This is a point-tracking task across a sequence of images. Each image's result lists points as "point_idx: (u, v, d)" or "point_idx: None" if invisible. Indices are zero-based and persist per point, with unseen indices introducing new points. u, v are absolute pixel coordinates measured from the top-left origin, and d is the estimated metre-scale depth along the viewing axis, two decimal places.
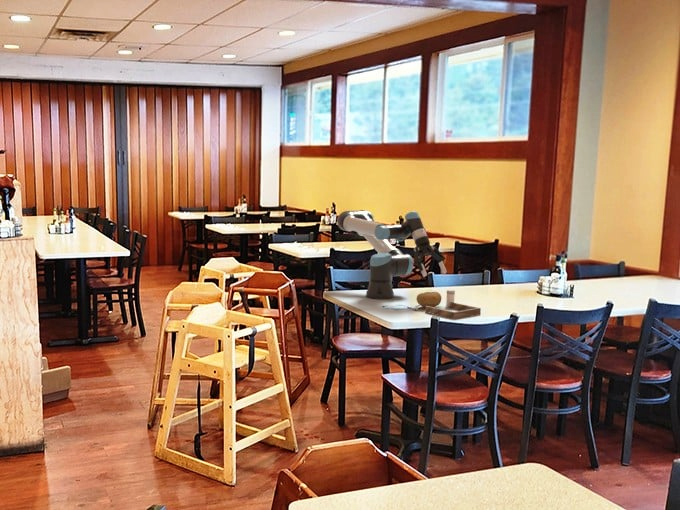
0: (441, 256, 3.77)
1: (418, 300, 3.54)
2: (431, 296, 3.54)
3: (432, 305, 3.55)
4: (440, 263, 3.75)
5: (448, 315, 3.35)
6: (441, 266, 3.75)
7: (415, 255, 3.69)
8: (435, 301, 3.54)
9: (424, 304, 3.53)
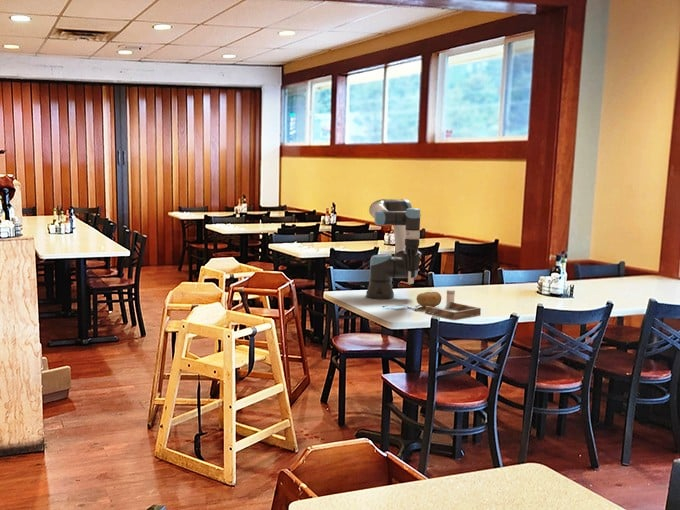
0: (414, 265, 3.62)
1: (418, 300, 3.54)
2: (431, 296, 3.54)
3: (432, 305, 3.55)
4: None
5: (448, 315, 3.35)
6: None
7: None
8: (435, 301, 3.54)
9: (424, 304, 3.53)
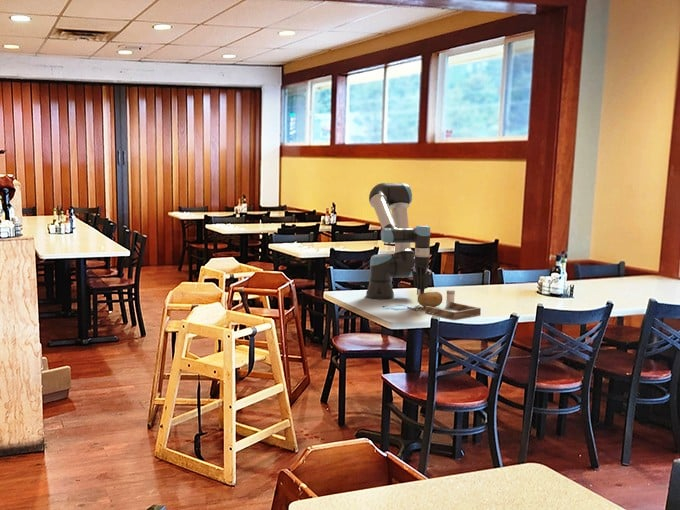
0: (423, 283, 3.58)
1: (419, 300, 3.53)
2: (432, 296, 3.54)
3: (433, 305, 3.54)
4: None
5: (448, 315, 3.35)
6: None
7: None
8: (436, 301, 3.53)
9: (425, 304, 3.53)
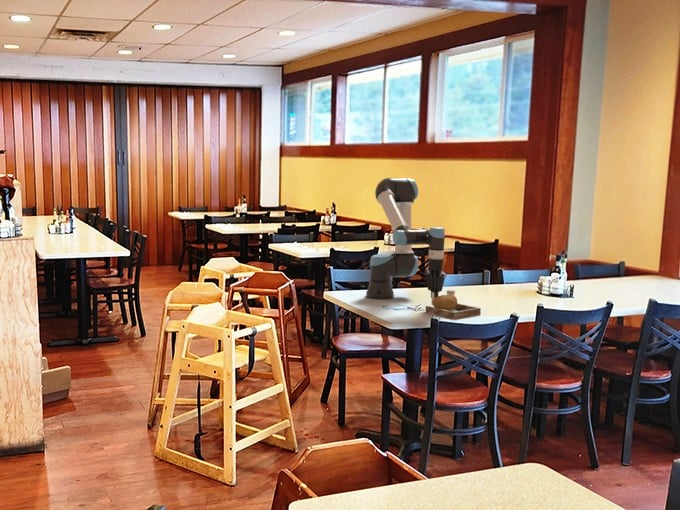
0: (438, 286, 3.51)
1: (434, 303, 3.46)
2: (447, 299, 3.47)
3: (448, 308, 3.47)
4: None
5: (448, 315, 3.35)
6: None
7: None
8: (451, 304, 3.46)
9: (440, 307, 3.46)
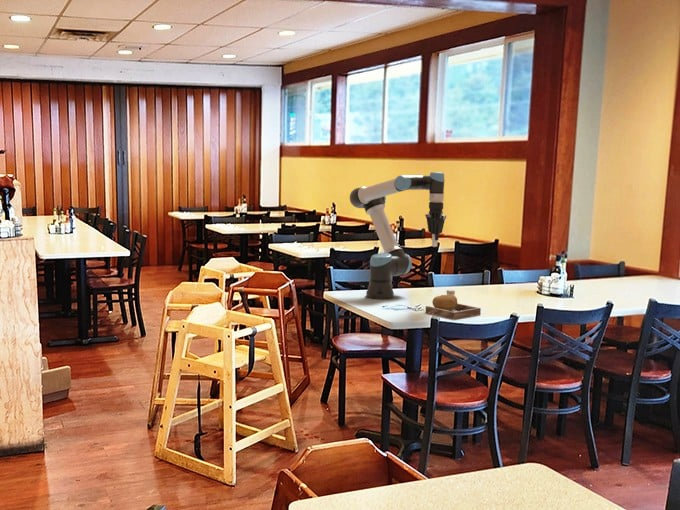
0: (438, 228, 3.68)
1: (434, 303, 3.46)
2: (447, 299, 3.46)
3: (448, 308, 3.47)
4: None
5: (448, 315, 3.35)
6: None
7: None
8: (452, 304, 3.46)
9: (441, 307, 3.46)
